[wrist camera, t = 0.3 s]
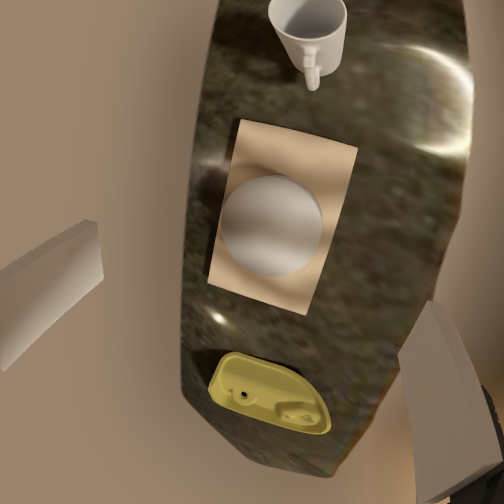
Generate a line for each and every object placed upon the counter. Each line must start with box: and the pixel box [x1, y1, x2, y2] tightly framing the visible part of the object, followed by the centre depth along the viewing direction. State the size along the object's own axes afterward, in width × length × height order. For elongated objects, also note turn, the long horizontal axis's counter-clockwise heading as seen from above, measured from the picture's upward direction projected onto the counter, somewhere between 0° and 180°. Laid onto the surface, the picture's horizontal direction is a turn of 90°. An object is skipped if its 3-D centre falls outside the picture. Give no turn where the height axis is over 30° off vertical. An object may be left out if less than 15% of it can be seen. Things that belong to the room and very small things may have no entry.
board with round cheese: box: [208, 119, 358, 315], centre depth 33 cm, size 22×14×6 cm, turn 167°
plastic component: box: [208, 352, 331, 434], centre depth 43 cm, size 20×7×10 cm
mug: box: [268, 0, 347, 91], centre depth 23 cm, size 10×7×12 cm, turn 177°
